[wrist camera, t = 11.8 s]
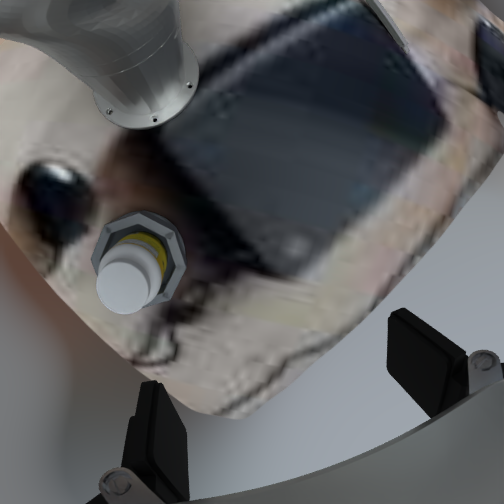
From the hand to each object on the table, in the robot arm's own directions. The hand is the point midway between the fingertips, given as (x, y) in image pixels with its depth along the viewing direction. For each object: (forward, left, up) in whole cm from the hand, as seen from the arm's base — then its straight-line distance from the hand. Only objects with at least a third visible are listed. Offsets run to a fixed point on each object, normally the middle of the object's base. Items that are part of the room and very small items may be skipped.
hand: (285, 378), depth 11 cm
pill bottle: (-1, -10, -26) cm, 27 cm away
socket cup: (-1, -10, -26) cm, 28 cm away
